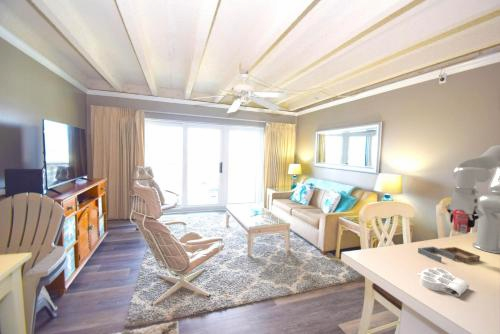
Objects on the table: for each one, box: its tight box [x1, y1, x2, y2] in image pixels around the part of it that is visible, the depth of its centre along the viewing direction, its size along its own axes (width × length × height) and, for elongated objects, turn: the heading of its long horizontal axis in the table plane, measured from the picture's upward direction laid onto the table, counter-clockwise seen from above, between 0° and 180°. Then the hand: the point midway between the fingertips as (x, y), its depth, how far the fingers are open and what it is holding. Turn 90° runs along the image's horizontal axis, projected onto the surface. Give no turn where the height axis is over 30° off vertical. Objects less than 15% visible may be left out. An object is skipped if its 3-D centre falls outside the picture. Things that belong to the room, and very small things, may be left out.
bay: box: [417, 246, 456, 263], centre depth 114 cm, size 11×11×2 cm
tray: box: [439, 246, 481, 264], centre depth 115 cm, size 11×11×2 cm
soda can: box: [451, 209, 472, 234], centre depth 113 cm, size 7×7×12 cm
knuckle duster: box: [416, 267, 470, 297], centre depth 89 cm, size 3×18×15 cm
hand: (461, 224), depth 114 cm, fingers closed on soda can, 7 cm apart
